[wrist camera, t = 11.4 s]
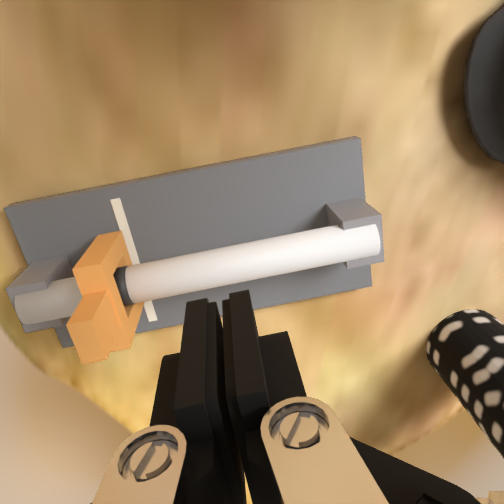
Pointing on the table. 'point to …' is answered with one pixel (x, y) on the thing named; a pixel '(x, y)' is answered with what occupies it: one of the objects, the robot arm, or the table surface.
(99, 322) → the collar
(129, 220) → the pipe rig
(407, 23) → the table surface
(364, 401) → the table surface
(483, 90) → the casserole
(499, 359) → the white-spotted black cylinder
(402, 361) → the table surface
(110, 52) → the table surface
